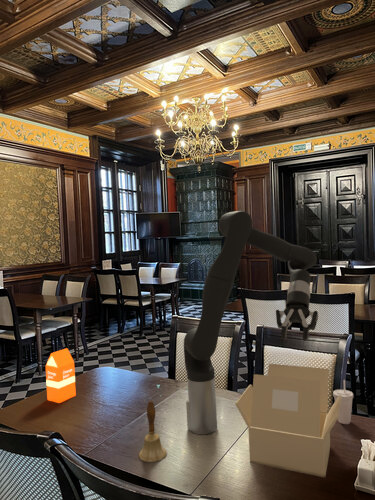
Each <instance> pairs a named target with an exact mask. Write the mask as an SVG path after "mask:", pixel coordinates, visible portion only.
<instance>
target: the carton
mask: <svg viewBox="0 0 375 500" xmlns="http://www.w3.org/2000/svg"><path fill="white" fill-rule="evenodd" d="M267 368H268V369H267V373H266V375H267V376H277V377H287V378H296V379H306V380H316V381H320V438H318V437H312V436H306V435H300V434H294V433H287V432H281V431H275V430H269V429H263V428H256V427H250V424H251V409H252V394H253V384H249V385H248V386H247V387H246V389H245V390H244V392H243V393H242V394H241V395H240V397H239V398H238V399H237V401H236V402H235V403H234V405H235V406H236V408H237V410H238V412H239V414H240V416H241V417H242V419H243V420H244V423H245V424H246V426H247V428H248V445H249V446H248V447H249V463H251V464H255V465H256V464H257V465H260V466H261V465H262V466H265V467H270V468H271V467H272V468H276V469H279V470H280V469H281V470H287V471H291V472H294V473H295V472H296V473H301V474H305V475H311V476H316V477H321V478H326V476H327V470H328V469H327V468H328V463H329V459H330V458H329V457H330V450H331V430H332V429H333V427H334V426H335V424H336V422H338V417H339V410H340V403H341V396H342V395H339V396H338V398H337V399H336V401H335V400H334V403H333V404H332V406H331V408H330V409H329V411H328V407H329V381H330V379H329V378H330V377H329V376H330V369H329V368H322V367H321V368H320V367H311V366H309V367H308V366H300V365H299V366H298V365H290V364H277V363H268V367H267Z"/></svg>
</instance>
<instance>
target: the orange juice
mask: <svg viewBox="0 0 375 500" xmlns="http://www.w3.org/2000/svg"><path fill="white" fill-rule="evenodd" d="M75 370H76V369H75V361H74V359H73V357H72V355H71V352H70V351H69V349H68V348H67V347H66V348H64V349H60V350H57V351H54V352H51V353H50V355H49V357H48V360H47V362H46V364H45V378H46V379H45V381H46V397H47V401H48V402H54V403H57V404H60V403H63V402H65V401H67V400H69V399H71V398H73V397H76V395H77V392H76V390H77V389H76V372H75Z"/></svg>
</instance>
